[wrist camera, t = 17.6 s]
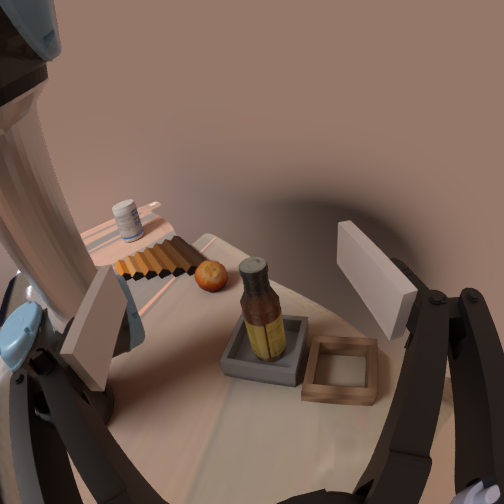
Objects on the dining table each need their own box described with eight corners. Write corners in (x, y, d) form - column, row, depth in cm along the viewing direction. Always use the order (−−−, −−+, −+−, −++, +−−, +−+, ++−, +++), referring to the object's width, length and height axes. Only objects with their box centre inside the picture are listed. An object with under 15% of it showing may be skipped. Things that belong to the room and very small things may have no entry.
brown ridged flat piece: (214, 271, 77) (181, 241, 95) (212, 261, 75) (178, 233, 93) (134, 310, 66) (117, 270, 84) (129, 300, 64) (113, 262, 82)
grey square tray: (224, 375, 46) (219, 361, 44) (245, 325, 57) (242, 310, 54) (295, 387, 42) (295, 373, 40) (307, 332, 53) (307, 317, 50)
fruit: (206, 268, 75) (212, 250, 69) (228, 287, 73) (235, 270, 67) (185, 284, 70) (189, 266, 64) (207, 304, 68) (213, 288, 62)
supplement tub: (145, 238, 101) (134, 203, 93) (123, 245, 98) (111, 211, 91) (143, 229, 109) (133, 197, 101) (123, 236, 106) (112, 204, 98)
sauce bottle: (284, 336, 51) (276, 248, 41) (288, 361, 46) (282, 272, 36) (250, 340, 52) (233, 254, 41) (251, 366, 46) (232, 279, 36)
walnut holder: (301, 400, 40) (301, 390, 38) (312, 346, 49) (312, 334, 48) (372, 405, 36) (376, 396, 34) (373, 350, 46) (377, 338, 44)
